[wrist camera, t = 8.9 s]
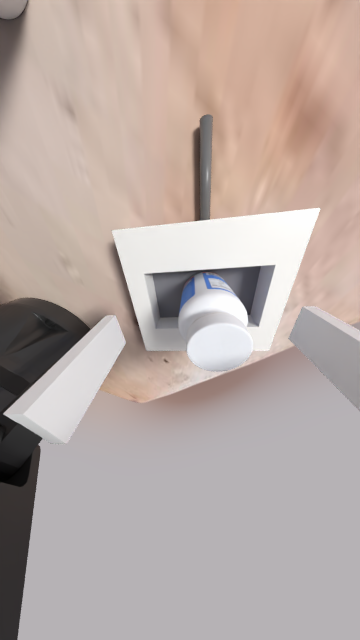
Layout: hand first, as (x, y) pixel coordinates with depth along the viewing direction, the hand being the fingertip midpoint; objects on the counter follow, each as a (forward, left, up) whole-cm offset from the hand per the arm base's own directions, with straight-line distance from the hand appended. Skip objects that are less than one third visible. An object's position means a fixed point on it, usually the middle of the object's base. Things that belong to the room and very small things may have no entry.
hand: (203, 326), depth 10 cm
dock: (+1, +3, -8) cm, 8 cm away
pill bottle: (+1, 0, -8) cm, 8 cm away
